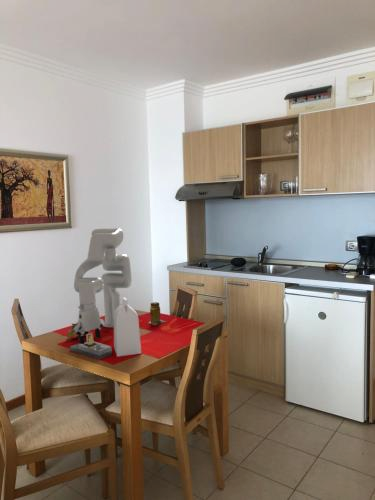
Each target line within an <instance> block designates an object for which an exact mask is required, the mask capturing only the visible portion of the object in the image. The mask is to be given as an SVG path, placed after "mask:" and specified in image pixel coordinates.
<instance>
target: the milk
mask: <svg viewBox="0 0 375 500" xmlns="http://www.w3.org/2000/svg"><path fill="white" fill-rule="evenodd" d="M113 345H114V346H113V348H114V351H115V355H116V357H123V356H124V357H125V356H131V355H137V354H138V355H139V354H142V345H141V334H140V324H139V315H138V313H137V311H136V310H135V309H134V308H133V307H132V306H131V305H129V304H128V299H127V297H125V296H124V297H123V296H122V302H121V305H120V306H118V307H117V309H116V310H115V311H114V327H113Z"/></svg>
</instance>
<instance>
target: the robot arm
mask: <svg viewBox="0 0 375 500" xmlns="http://www.w3.org/2000/svg"><path fill="white" fill-rule="evenodd" d="M123 240H124V232H123V230H122V229H121V228H117V227H116V228H114V227H113V228H95V229H93V230H92V231H91V237H90V241H89V245H88V252H87V258H86V259H85V260H84V261H83V262H82V263H81V264H80V265H79V266H78V268H77V269H76V272H75V275H74V282H73V289H74V291H75V292H76V293H78V296H79V306H78V307H77V308H78V316H77V317H78V318H77V319H78V321H77V323H78V325H77V326H76V327H75V328H74V329H73V330H74V331H75V333H76V336H77V337H78V339H79V340H78V341H79V342H78V343H80V344H84V343H85V336H84V335H83V334H84V332H87V331H89V332H91V331H90V330H94V338H96V339H101V330H102V327H104V328H114V311H115V310H116V309H117V307H118V306H120V305H121V304H122V302H121V294H120V292H119V291H118V289H129V288H130V287H131V286H132V271H131V261H130V258H129V256H128V255H127V254H122V253H121V254H117V251H116V249H118V247H120V245H121V244H122V243H123ZM100 265H101V266H102V269H103V270H104V271H107V272H104V273H103V274H102V275H101V277H90V276H89V277H84V276H85V274H86V273H87V272H88V271H91V270H92V269H94V268H97V267H99V266H100ZM100 292H103V304H104V305H103V306H104V319H102V318H101V316H100V312H99V309H98V307H97V302H96V300H97V299H96V298H97V297H96V294H98V293H100ZM78 329H79V331H78Z"/></svg>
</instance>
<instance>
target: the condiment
mask: <svg viewBox="0 0 375 500" xmlns="http://www.w3.org/2000/svg"><path fill="white" fill-rule="evenodd" d="M149 314H150V315H149V317H150V321H148V324H151V325H154V326H155V325H159V324H163V323H166V321H165V320H162V319H161V307H160V302H155V301H154V302H151V303H150V307H149Z"/></svg>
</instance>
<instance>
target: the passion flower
mask: <svg viewBox="0 0 375 500" xmlns="http://www.w3.org/2000/svg"><path fill="white" fill-rule="evenodd" d="M71 325H72V326H71V329H70V330H68V333H67V337H68V338H72V337H73V335H74V338H77V334H76V333H75V331H74V328H75V327H76V326H77V325H78V322H75V323H74V322H73V323H71ZM78 331H79V329H78ZM89 332H95V329H93V330H90V331H87V332H84V334H83V336H84V337H85V336H86V335H87V334H90V333H89ZM77 340H78V341H79V338H78V339H77Z"/></svg>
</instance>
